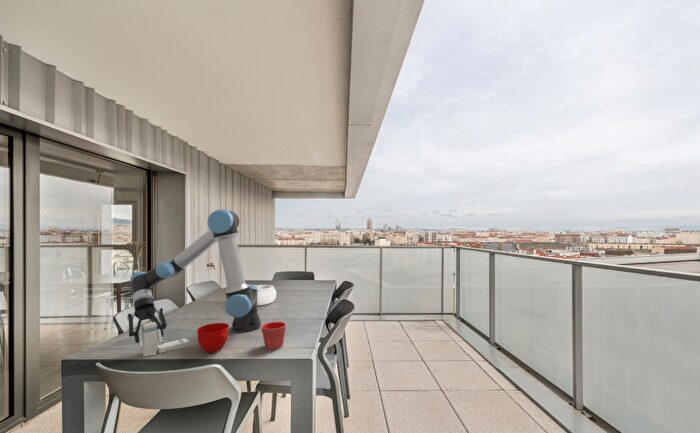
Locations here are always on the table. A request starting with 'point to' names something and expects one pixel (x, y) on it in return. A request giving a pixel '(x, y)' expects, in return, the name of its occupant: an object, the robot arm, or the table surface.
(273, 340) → the flower pot
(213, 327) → the ceramic cup
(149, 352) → the stub
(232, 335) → the table surface
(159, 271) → the robot arm
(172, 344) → the strip
